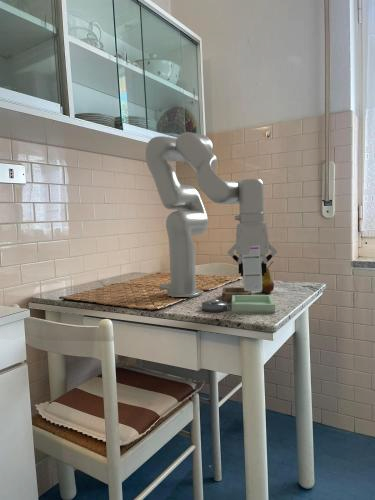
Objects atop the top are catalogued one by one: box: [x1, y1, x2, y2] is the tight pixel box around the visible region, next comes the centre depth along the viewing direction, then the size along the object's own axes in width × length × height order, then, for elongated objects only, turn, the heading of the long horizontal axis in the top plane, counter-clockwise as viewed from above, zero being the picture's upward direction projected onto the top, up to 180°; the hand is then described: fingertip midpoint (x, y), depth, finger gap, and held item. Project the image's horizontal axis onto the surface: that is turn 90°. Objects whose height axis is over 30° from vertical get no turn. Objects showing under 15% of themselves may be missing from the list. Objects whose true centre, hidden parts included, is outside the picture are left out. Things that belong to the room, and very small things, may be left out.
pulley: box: [201, 298, 228, 314], centre depth 120 cm, size 8×8×3 cm
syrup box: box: [242, 245, 262, 292], centre depth 120 cm, size 6×6×14 cm
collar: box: [221, 286, 253, 303], centre depth 134 cm, size 10×10×3 cm
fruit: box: [261, 261, 275, 294], centre depth 142 cm, size 6×6×12 cm
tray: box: [231, 294, 276, 314], centre depth 122 cm, size 13×13×2 cm
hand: (252, 275), depth 121 cm, fingers closed on syrup box, 6 cm apart
